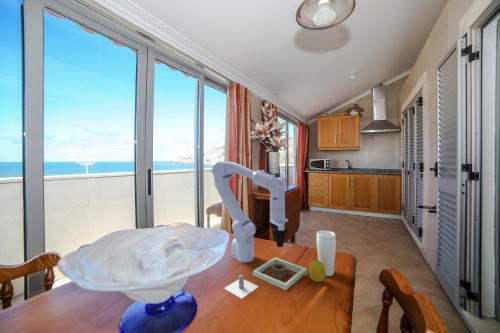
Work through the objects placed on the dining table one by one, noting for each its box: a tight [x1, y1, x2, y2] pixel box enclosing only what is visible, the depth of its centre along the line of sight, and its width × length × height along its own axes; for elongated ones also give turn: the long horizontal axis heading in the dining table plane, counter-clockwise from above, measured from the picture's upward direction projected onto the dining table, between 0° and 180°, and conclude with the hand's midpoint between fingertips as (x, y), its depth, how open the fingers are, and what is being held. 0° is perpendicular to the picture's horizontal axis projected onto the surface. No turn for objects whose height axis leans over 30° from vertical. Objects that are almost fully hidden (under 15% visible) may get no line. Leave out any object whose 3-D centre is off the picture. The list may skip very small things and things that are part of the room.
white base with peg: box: [223, 274, 259, 299], centre depth 68 cm, size 8×8×5 cm
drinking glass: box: [315, 230, 337, 277], centre depth 78 cm, size 7×7×15 cm
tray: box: [252, 257, 307, 291], centre depth 76 cm, size 14×14×2 cm
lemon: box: [308, 259, 326, 283], centre depth 72 cm, size 6×6×8 cm
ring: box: [270, 263, 291, 279], centre depth 76 cm, size 7×5×3 cm
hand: (278, 242), depth 83 cm, fingers open, 7 cm apart
